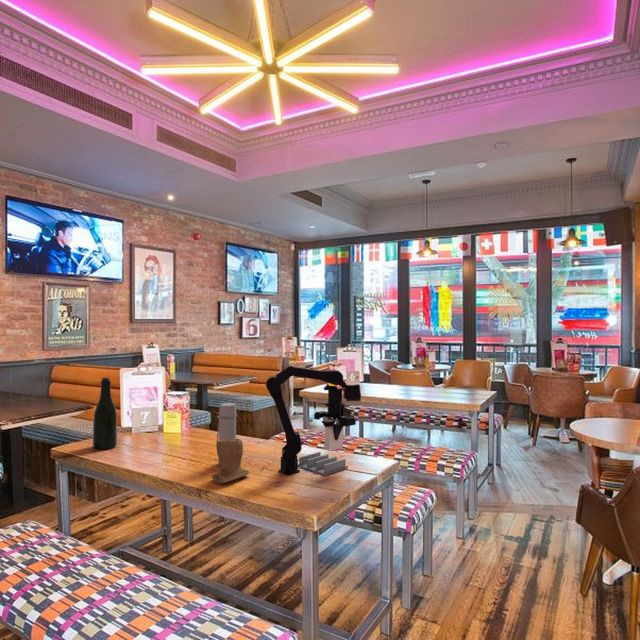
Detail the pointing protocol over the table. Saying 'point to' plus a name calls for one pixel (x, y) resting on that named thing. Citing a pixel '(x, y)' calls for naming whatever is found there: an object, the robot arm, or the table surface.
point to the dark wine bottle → (105, 419)
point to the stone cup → (229, 460)
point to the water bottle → (227, 422)
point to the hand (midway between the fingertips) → (333, 439)
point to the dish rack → (321, 463)
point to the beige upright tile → (332, 439)
